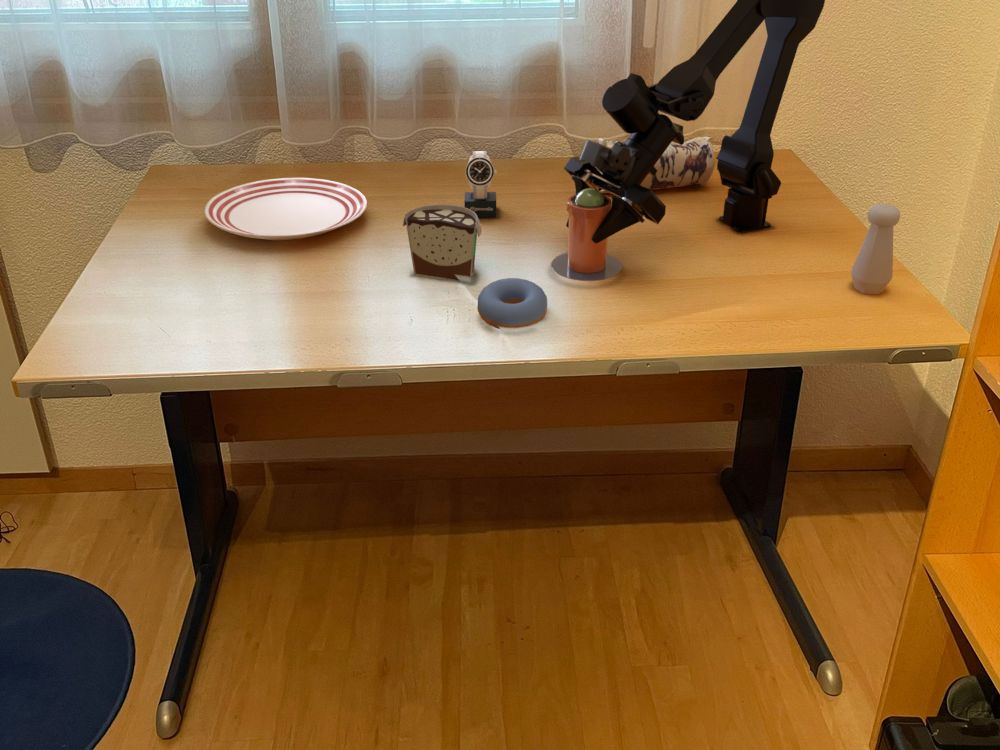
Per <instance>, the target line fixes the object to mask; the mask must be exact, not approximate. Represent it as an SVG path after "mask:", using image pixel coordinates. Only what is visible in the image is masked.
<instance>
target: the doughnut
mask: <svg viewBox="0 0 1000 750" xmlns="http://www.w3.org/2000/svg"><path fill="white" fill-rule="evenodd" d="M476 309H477V312H478V314H479V317H480V318H481V320H482V321H484V322H485V323H486V324H487V325H489V326H491V327H493V328H495V329H496V330H497V329H498V330H501V327H503V328H523V327H527V326H531V325H534V324H537V323H538V322H539V321H541V320H542V319H543V318H544V317H545V315H546V313H547V310H548V297H547V295H546V293H545V291H544V290H543V288H542V287H540V286H539V285H538V284H537V283H535V282H534V281H531V280H528V279H524V278H519V277H506V278H501V279H497V280H495V281H492V282H490V283H488V284H487V285H486V286H485V287H483V288H482V290H481V291H480V292H479V294H478V296H477V307H476Z"/></svg>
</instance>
